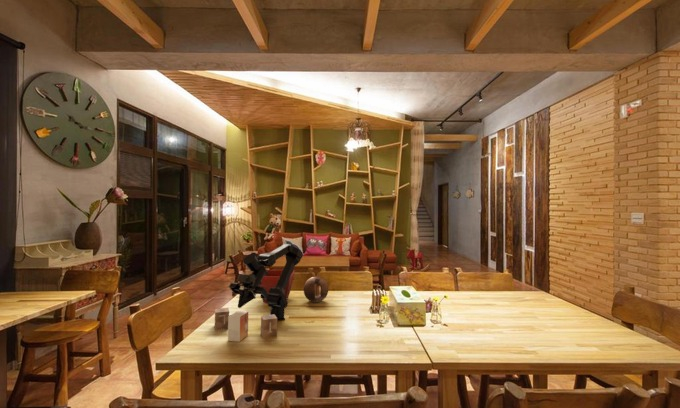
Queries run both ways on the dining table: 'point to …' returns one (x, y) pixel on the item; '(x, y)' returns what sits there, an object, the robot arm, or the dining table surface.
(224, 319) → the walnut block seven
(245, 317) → the small box
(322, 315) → the dining table surface
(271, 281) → the plant pot
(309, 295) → the wooden sphere
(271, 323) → the walnut block one
